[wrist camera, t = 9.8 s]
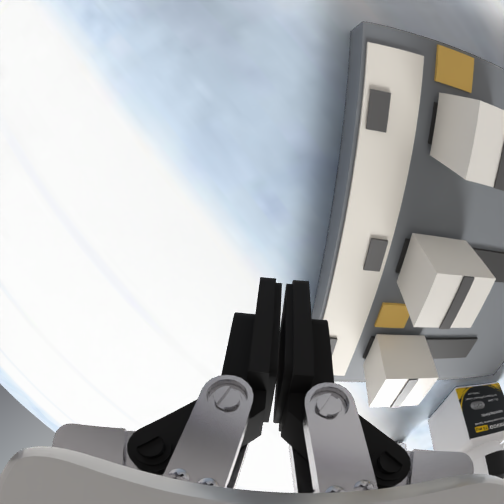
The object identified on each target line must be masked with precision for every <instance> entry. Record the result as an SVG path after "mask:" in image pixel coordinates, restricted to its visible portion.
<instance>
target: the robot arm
mask: <svg viewBox="0 0 504 504" xmlns="http://www.w3.org/2000/svg"><path fill="white" fill-rule="evenodd" d="M281 290H282V283H276V279H274V278H263V277H260V284H259V292H258V299H257V307H256V314H246V313H236V312H235V314H234V318H233V322H232V327H231V332H230V337H229V341H228V346H227V351H226V356H225V361H224V365H223V370H222V375H221V376H217V377H215V378H212V379H211V380H209V381H208V382H207V383H206V384H205V385H204V387H203V388H202V390H201V393H200V395H199V397H198V399H197V400H195V401H193V402H192V403H190V404H188V405H186V406H184V407H182V408H180V409H178V410H177V411H175V412H173V413H171V414H169V415H167V416H165V417H163V418H161V419H159V420H157V421H155V422H153V423H151V424H149V425H147V426H145V427H143V428H140V429H139V430H137V431H126V429H123V428H109V427H98V426H88V425H80V424H66V425H63V426H61V427H60V428H59V429H58V430H57V431H56V433H55V436H54V440H53V446H52V447H46V446H43V447H29V448H25V449H22V450H20V451H19V452H17V453H16V454H15V455H14V456H13V457H12V458H11V459H10V460H9V462H8V463H7V465H6V466H5V468H4V470H3V471H2V473H1V475H0V504H504V479H502V478H499V477H496V476H492V475H487V474H474V466H473V461H472V460H471V458H470V456H468V455H467V454H466V453H462V452H448V451H431V450H418V449H414V450H413V451H406V450H405V449H404V448H403V447H401V446H400V445H399V444H397V443H396V442H394V441H393V440H392V439H390V438H389V437H388V436H386V435H385V434H384V433H382V432H381V431H380V430H378V429H377V428H376V427H374V426H373V425H372V424H371V423H369V422H368V421H367V420H365V419H364V418H363V417H361V416H360V415H359V414H358V412H357V408H356V405H355V401H354V399H353V397H352V395H351V393H350V392H349V391H348V390H347V389H346V388H344V387H343V386H341V385H339V384H335V383H334V374H333V363H332V353H331V344H330V335H329V326H328V321H327V320H319V319H311V304H310V290H309V282H308V281H298V280H293V282H292V284H286V291H285V298H284V305H283V313H282V320H281V327H280V315H281ZM275 384H276V390H275ZM274 390H275V405H274V420H273V423H279V431H281V437H282V438H283V439H284V440H285V441H286V442H287V443H289V453H290V461H291V469H292V477H293V484H294V492H295V493H279V492H262V491H250V490H240V489H235V486H236V483H237V480H238V477H239V474H240V471H241V468H242V465H243V462H244V459H245V456H246V452H247V449H248V446H249V443H250V442H251V441H253V440H254V439H255V438H257V437H258V436H260V435H261V431H262V425H263V422H269V416H270V411H271V406H272V401H273V395H274Z"/></svg>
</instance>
